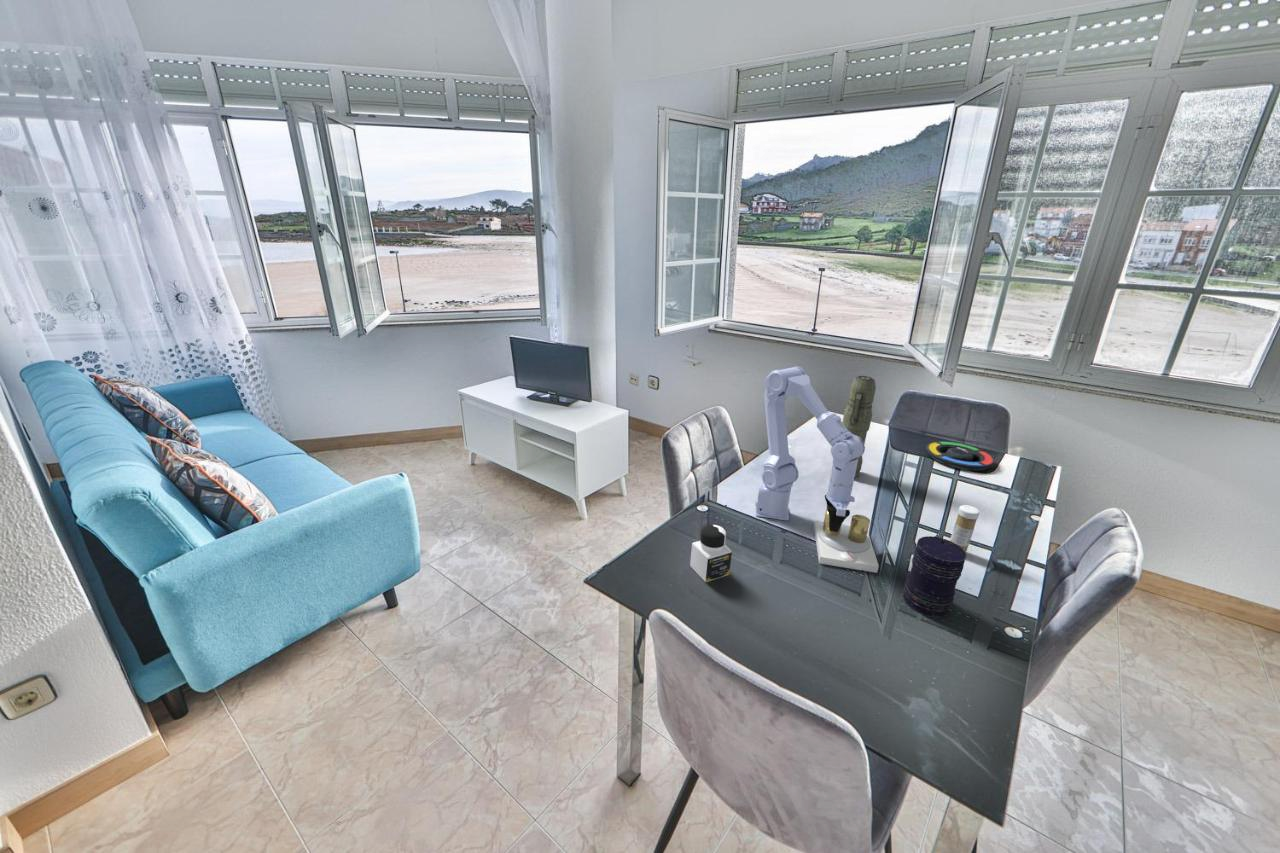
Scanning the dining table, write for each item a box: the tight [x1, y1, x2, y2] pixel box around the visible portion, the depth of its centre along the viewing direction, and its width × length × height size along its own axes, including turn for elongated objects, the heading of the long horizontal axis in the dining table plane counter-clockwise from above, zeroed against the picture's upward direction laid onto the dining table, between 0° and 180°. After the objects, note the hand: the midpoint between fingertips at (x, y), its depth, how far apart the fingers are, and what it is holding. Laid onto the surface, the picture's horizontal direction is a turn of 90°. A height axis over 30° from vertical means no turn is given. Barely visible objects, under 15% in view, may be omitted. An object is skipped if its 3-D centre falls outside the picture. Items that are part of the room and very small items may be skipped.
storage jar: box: [902, 535, 967, 618], centre depth 119 cm, size 10×10×15 cm
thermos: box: [841, 375, 877, 479], centre depth 179 cm, size 9×12×35 cm
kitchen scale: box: [813, 520, 880, 574], centre depth 140 cm, size 14×18×3 cm
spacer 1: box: [822, 508, 841, 536], centre depth 140 cm, size 4×4×6 cm
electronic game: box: [925, 440, 996, 472], centre depth 199 cm, size 23×23×5 cm
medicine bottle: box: [689, 524, 733, 583], centre depth 127 cm, size 7×7×12 cm
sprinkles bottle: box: [949, 504, 980, 554], centre depth 139 cm, size 5×5×13 cm
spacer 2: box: [848, 514, 871, 543], centre depth 139 cm, size 4×4×6 cm
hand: (832, 526), depth 141 cm, fingers closed on spacer 1, 4 cm apart
